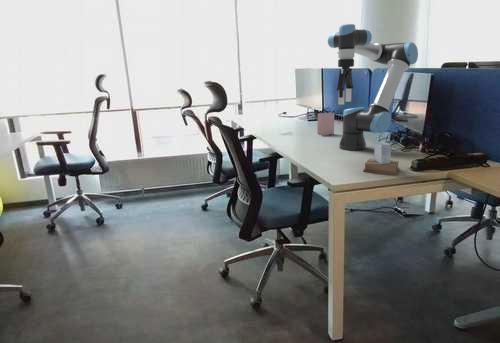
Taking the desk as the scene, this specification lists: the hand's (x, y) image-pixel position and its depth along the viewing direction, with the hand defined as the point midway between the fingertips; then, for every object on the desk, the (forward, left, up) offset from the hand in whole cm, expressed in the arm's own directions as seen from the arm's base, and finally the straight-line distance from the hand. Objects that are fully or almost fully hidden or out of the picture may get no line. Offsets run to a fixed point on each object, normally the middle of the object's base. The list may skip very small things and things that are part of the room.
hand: (344, 103), depth 187 cm
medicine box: (+16, +22, -25) cm, 37 cm away
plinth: (+16, +22, -29) cm, 39 cm away
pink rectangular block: (-63, -29, -29) cm, 75 cm away
